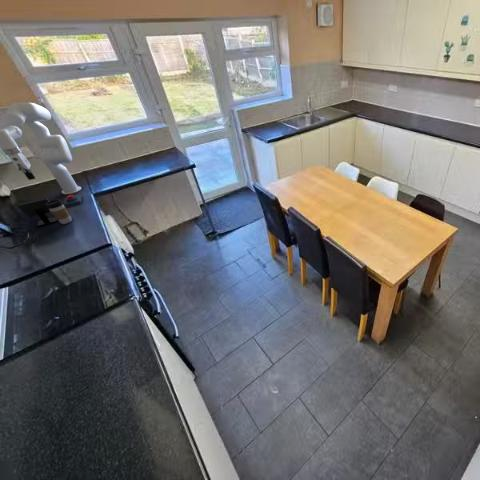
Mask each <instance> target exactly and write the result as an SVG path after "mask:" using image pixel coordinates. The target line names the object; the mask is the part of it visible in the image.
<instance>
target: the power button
mask: <svg viewBox="0 0 480 480" xmlns="http://www.w3.org/2000/svg"><path fill="white" fill-rule="evenodd" d="M66 198H68V199H72V198H74V195H73V194H68V195H67V196H66Z"/></svg>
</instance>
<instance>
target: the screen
mask: <svg viewBox="0 0 480 480" xmlns="http://www.w3.org/2000/svg"><path fill="white" fill-rule="evenodd" d="M49 201H50V200H49V199H48V197H43V198H40V199H35V200H30V201H26V202H21V203H18V204H17V206H18V208H19V209H20V210H21V211H22V212H23V213H24V214H25V215H26V216H27V217H28V218H31V217H35V216H38V215H37V213H36V212H35V210H37V209H42V210H43V211H44V213H45V214H47V213H51V212H50V210H49V209H48V208H47V207H46V203H47V202H49Z"/></svg>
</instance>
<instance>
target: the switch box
mask: <svg viewBox="0 0 480 480" xmlns="http://www.w3.org/2000/svg"><path fill="white" fill-rule="evenodd" d="M73 196H74V198H72V199H68V198H67V197H65V199H64V202H63V205H64V206H65V208H69V207H72V206H76V205H80V204H82V196H81V195H76V194H75V195H73Z"/></svg>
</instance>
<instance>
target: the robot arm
mask: <svg viewBox="0 0 480 480" xmlns="http://www.w3.org/2000/svg"><path fill="white" fill-rule="evenodd" d="M51 119H52V115H51V113H50V111H49V110H48V109H47V108H46V107H43V106H41V105H40V104H37V103H33V102H16V103H11V104H10V105H9V107H8V108H7V110H6V112H5V114H4V115H1V116H0V149H1V151H2V152H3V154H4V155H5V156H8V158H9V160H10V161H11V162H12V164H13V165H14V166H15V168H16V169H17V171H19V172H22V173H23V174H24V175H25V177H26V178H27V180H29V181H32V180H35V179H36V176H35V175H34V173H33V172H32V170H31V169H30V168H31V166H32V164H31V163H30V161H29V160H28V159H27V157H26V156H25V155H24V154H23V151H22V150H21V148H20V147H19V145H18V143H17V142H16V140H17V139H20V138H22V137H23V131H22V129H21V128H20V127H22V126H23V125H24V124H26V125H27V126H28V127H29V128H30V129H31V131H32V133H33V135H34V138H35V141H36V143H37V145H38V147H39V148H40V149H41V150H45V151H43V152H42V153H40V154H39V159H40V160H41V162H42V163H43V164H44V165H45V167H47V169H48V170H49V171H50V173H51V174H52V176H53V177H54V179H55V180H56V182H57V183H58V185H59V187H60V188H61V189H62V190H61V194H62V195H73V194H76V193H78V192H80V191H81V190H82V186H79V185H78V184H77V182H76V181H75V179H74V178H73V176H72V175H71V172H70V171H69V169H68V168H67V167H66V166H64V165H63V164H70V163H72V162H73V156H72V154H71V153H72V152H71V151H70V148H69V145H68V143H67V140H66V139H65V138H64V137H63V136H62V135H61V134H51V133H50V130H49V129H48V127H47V126H46V125H44V124H43V123H41V122H47V121H50V120H51ZM58 149H59V150H58Z"/></svg>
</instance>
